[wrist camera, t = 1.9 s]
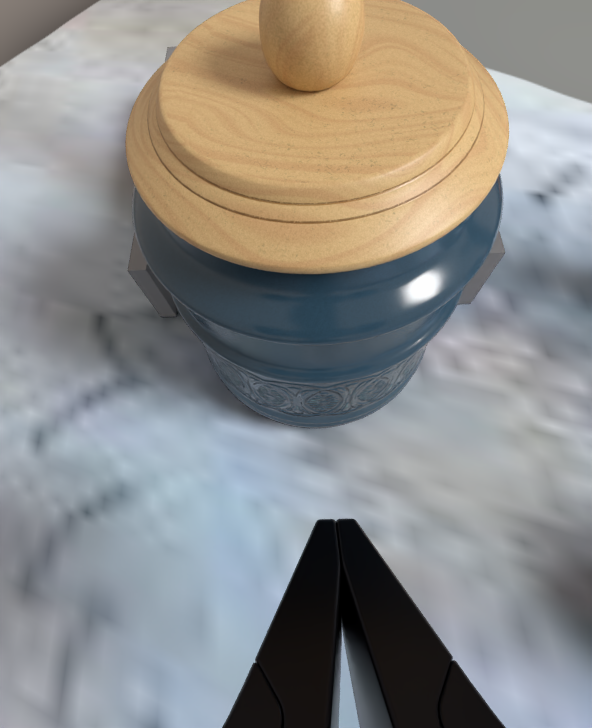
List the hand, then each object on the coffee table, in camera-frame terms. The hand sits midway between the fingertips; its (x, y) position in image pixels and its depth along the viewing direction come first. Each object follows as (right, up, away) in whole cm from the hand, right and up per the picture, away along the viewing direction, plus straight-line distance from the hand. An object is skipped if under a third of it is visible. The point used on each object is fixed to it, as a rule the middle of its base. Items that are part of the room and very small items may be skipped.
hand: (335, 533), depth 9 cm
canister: (0, +6, +16) cm, 17 cm away
